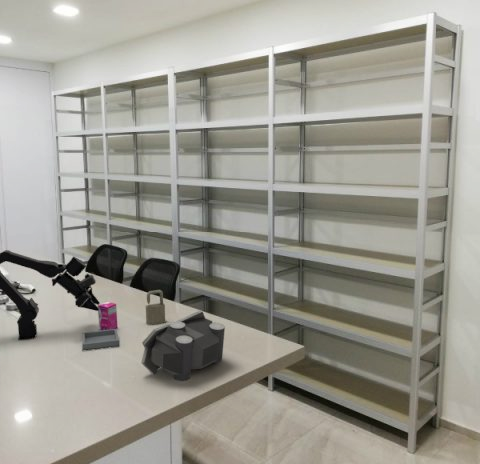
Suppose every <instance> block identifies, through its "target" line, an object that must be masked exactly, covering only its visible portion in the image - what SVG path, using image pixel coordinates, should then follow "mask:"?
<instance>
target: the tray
mask: <svg viewBox="0 0 480 464" xmlns="http://www.w3.org/2000/svg"><path fill="white" fill-rule="evenodd" d="M118 333H119V332H118V328H117V329H110V330H95V331H87V332H86V331H84V332H81V338H82V339H81V344H82V345H81V347H82V351H83V350H86V351H92V350H93V349H94V350H101V348H103V349H108V348H109V347H111V348H117V347H120V337H119V334H118Z"/></svg>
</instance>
